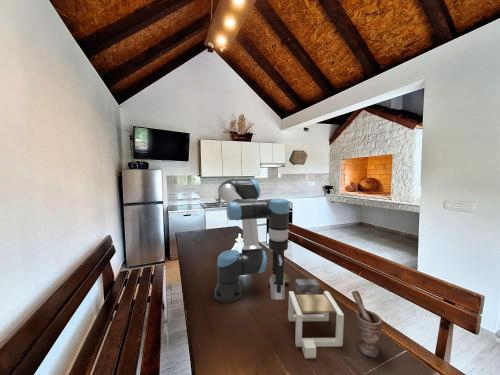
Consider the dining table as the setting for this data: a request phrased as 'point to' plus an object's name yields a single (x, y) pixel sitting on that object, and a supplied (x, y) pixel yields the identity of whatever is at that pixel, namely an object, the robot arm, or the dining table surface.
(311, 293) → the trapdoor
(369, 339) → the mortar and pestle
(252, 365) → the dining table surface
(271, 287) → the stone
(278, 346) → the dining table surface
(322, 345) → the frame
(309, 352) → the pumice block
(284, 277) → the rock
